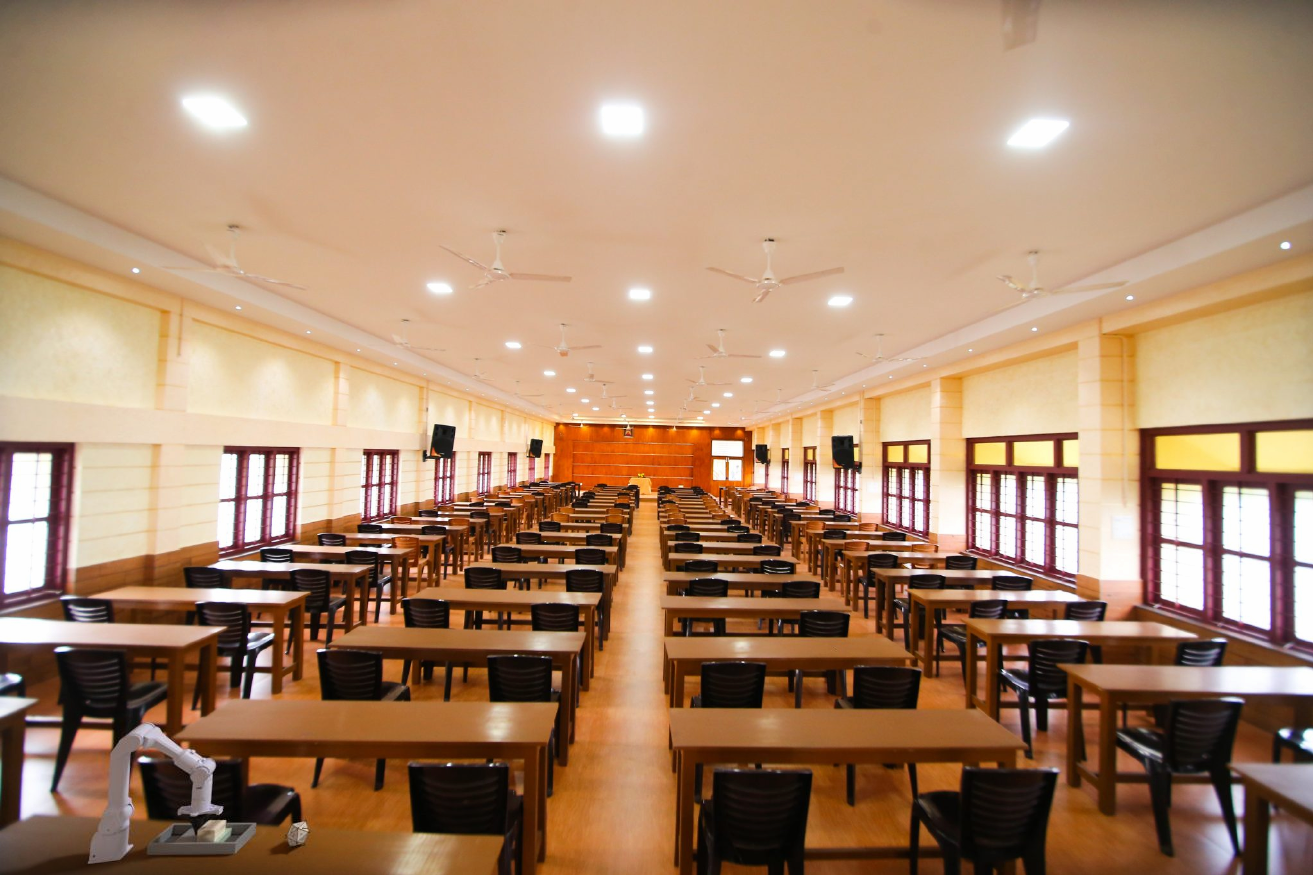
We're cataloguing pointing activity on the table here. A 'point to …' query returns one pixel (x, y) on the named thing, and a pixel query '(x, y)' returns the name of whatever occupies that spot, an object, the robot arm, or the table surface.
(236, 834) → the gray tray
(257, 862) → the table surface
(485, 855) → the table surface
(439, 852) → the table surface
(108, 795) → the robot arm
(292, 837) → the game die
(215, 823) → the cream block
